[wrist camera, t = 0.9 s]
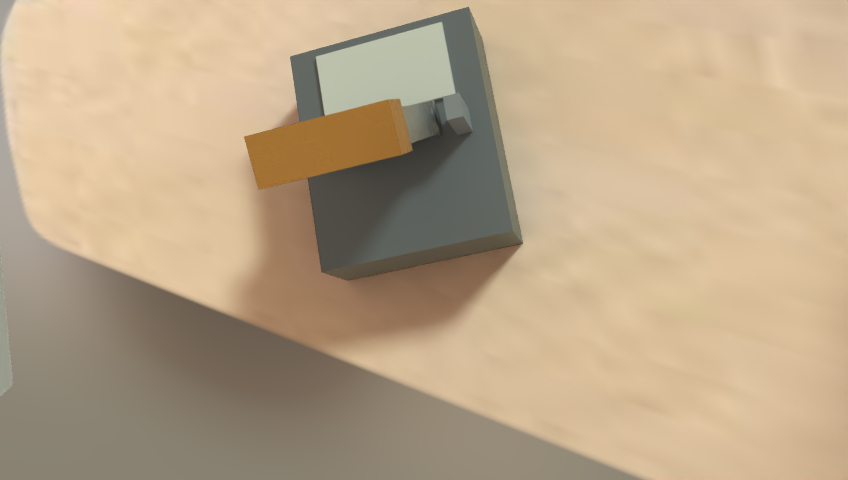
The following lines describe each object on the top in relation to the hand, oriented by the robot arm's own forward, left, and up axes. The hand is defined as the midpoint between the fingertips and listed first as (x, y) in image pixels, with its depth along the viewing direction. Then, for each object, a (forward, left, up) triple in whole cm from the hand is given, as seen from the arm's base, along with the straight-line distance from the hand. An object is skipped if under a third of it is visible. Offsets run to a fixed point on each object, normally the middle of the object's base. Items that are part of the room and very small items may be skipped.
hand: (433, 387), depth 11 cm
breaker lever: (0, -14, -25) cm, 29 cm away
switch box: (0, -14, -31) cm, 34 cm away
